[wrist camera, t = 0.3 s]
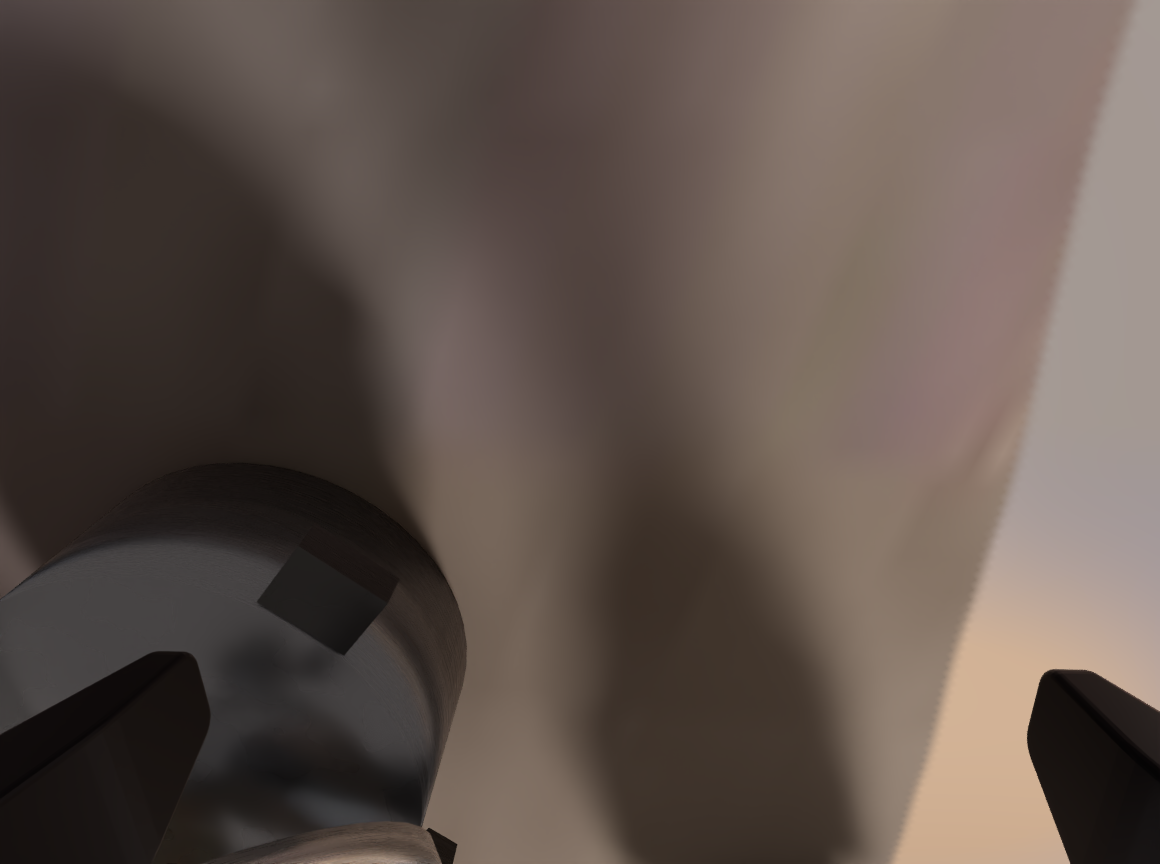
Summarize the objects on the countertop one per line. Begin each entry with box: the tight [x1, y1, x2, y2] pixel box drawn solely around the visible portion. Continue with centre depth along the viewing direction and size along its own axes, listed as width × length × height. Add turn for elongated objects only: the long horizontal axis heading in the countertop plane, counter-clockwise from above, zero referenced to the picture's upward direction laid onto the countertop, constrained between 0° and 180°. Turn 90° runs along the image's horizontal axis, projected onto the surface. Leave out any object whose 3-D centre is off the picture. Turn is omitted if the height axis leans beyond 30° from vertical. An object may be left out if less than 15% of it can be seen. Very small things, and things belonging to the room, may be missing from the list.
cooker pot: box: [0, 463, 467, 864], centre depth 23 cm, size 14×17×6 cm
